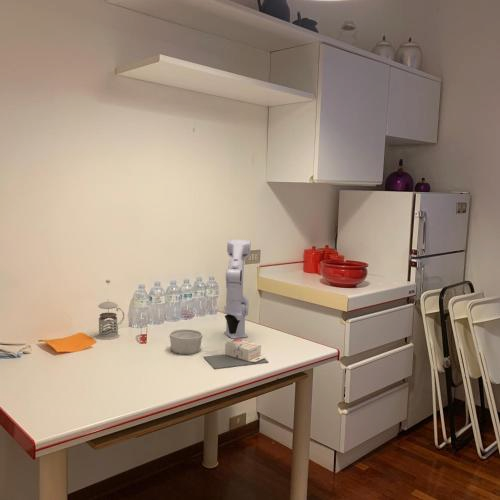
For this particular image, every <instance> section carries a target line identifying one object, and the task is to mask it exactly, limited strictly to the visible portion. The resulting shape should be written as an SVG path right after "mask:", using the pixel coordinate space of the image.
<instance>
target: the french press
mask: <svg viewBox="0 0 500 500" xmlns="http://www.w3.org/2000/svg"><path fill="white" fill-rule="evenodd" d="M105 283H106V284H111V280H110V279H106V280H105ZM98 308H99V309H103V310H111V309H116V312H119V311H121V312H122V315H125V313H124V311H123V310H122V309H121V308H120V307H119V306H118V304H117V303H116V302H114V301H109V300H107V301H105V302H101V303H100V304H98ZM117 315H118V314H117V313H115V312H102V313H100V314H99V317H98V334H97V335H96V336H95V337H96V339H98V340H101V341H113V340H116V339H119V338H120V334H119V325H121V324H122V323H123V322H124V320H125V316H122V318H121V320H120V321H119V322H118V316H117Z"/></svg>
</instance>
